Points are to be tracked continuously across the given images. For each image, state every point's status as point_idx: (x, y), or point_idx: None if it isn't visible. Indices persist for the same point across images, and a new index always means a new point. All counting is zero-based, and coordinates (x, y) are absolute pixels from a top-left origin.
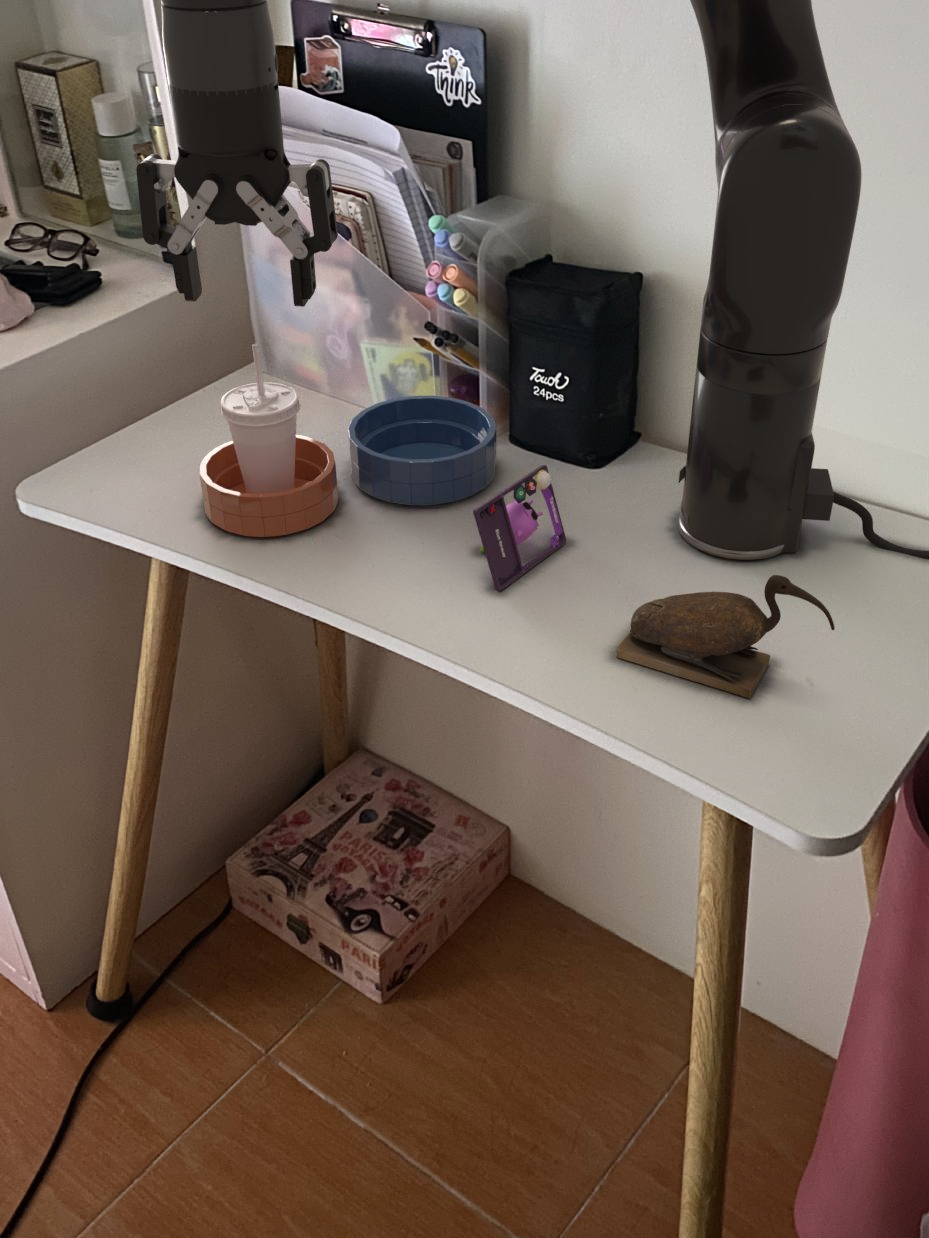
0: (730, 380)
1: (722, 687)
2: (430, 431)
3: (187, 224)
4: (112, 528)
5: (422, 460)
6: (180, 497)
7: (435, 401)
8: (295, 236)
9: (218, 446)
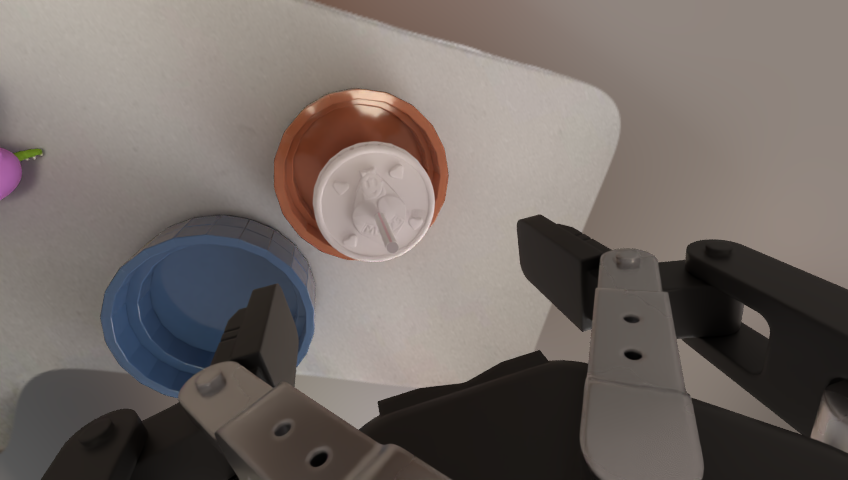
0: None
1: None
2: None
3: (633, 295)
4: (506, 63)
5: (159, 248)
6: (465, 151)
7: None
8: (206, 419)
9: (444, 200)
